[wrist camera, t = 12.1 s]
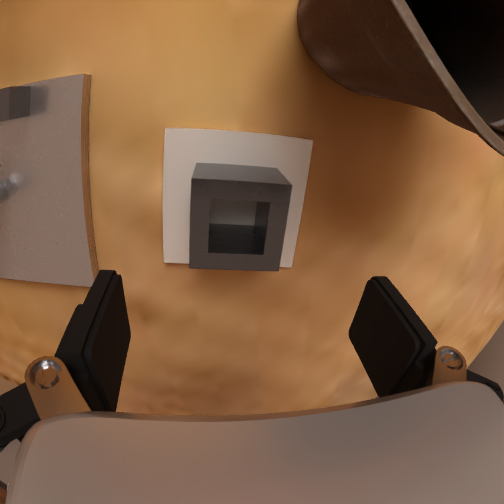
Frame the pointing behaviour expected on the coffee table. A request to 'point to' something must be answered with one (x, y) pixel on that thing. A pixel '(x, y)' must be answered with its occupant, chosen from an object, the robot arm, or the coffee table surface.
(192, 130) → the pad
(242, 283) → the coffee table surface
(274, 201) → the collar
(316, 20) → the plant pot
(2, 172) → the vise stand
